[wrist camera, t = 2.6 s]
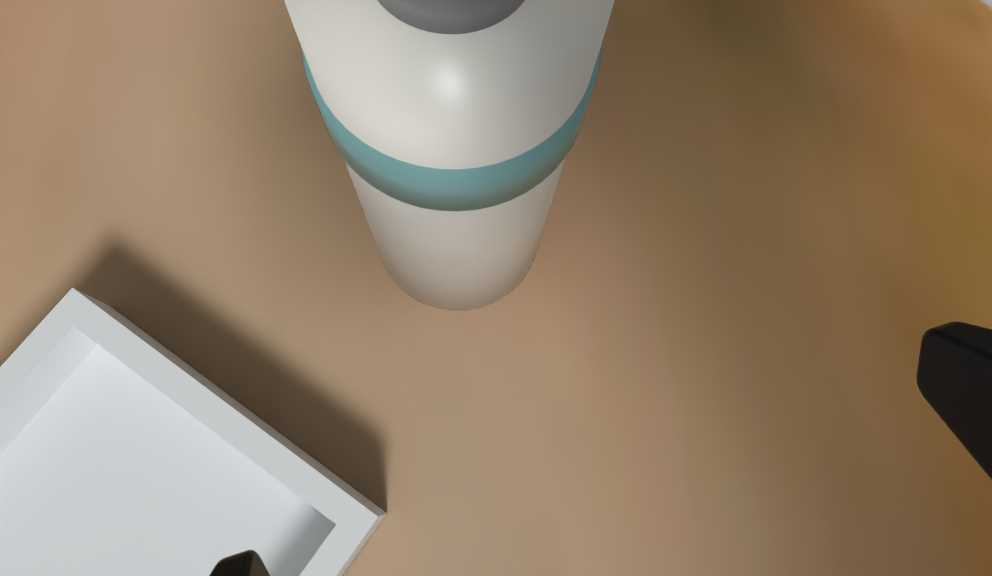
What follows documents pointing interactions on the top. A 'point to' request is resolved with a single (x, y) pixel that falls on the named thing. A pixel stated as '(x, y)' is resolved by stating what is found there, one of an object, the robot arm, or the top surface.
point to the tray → (152, 464)
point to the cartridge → (453, 127)
